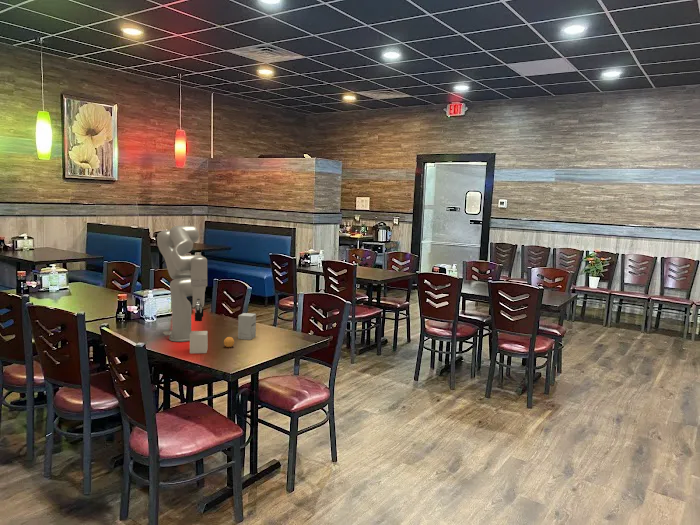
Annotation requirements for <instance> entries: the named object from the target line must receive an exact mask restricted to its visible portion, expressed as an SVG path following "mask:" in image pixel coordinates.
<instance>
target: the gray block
mask: <svg viewBox="0 0 700 525" xmlns="http://www.w3.org/2000/svg"><path fill="white" fill-rule="evenodd" d="M208 333H209V332H208V330H191V333H190V341H189V354H207V353H208V346H209V345H208V343H209V341H208V336H209V334H208Z"/></svg>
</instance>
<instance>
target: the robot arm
mask: <svg viewBox="0 0 700 525" xmlns="http://www.w3.org/2000/svg"><path fill="white" fill-rule="evenodd" d="M199 232H200V231H199V229H198V228H197V227H196V226H195V225H175V226H174V225H173V227H171V228H170V229H166V230H162V231H161V230H160V232H158V234H157V237H156V241H157V242H156V243H157V247H158V250H159V253H160V254H161V255H162V256H163V259H164V260H165V265H166V268H167V272H168V275H169V277H170V278H171V279H172V280H171V281H170V284H169V291H170V295H171V296H170V297H171V330H169V331H167V330H165V331H162V335H163V336H166V337H167V336H169V337H168V340H169V341H171V342H177V343H178V342H179V343H181V342H183V343H184V342H190V333H191V331H192V309H194V308H195V310H194V321H195V322H202V321H203V317H204V306H205V296H206V294H205V292H206V288H207V287H208V259H207V258H206V257H205V256H203V255H201V254H189V253H190V252H191V251H192V250H193V248H194V244H195V243H196V242H198V240H199V238H200V233H199ZM187 297H192V302H190V300H188V298H187ZM191 303H192V304H191Z"/></svg>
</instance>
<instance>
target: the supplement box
mask: <svg viewBox="0 0 700 525" xmlns="http://www.w3.org/2000/svg"><path fill="white" fill-rule="evenodd" d="M237 318H238V319H237V322H238V324H237V339H238V340H245V341H246V340H247V341H252V340H253V339H254V338H256V337H257V336H256V334H257V333H256V332H257V314H256V313H250V312H249V313H248V312H243V313H241V314H239V315H238V316H237Z"/></svg>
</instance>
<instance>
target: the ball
mask: <svg viewBox="0 0 700 525" xmlns="http://www.w3.org/2000/svg"><path fill="white" fill-rule="evenodd" d="M223 344H224V346H225V347H226V348H231V347H233V346H234V344H235V340H234V338H233V337H232V336H227V337H226V338H224V340H223Z"/></svg>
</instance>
